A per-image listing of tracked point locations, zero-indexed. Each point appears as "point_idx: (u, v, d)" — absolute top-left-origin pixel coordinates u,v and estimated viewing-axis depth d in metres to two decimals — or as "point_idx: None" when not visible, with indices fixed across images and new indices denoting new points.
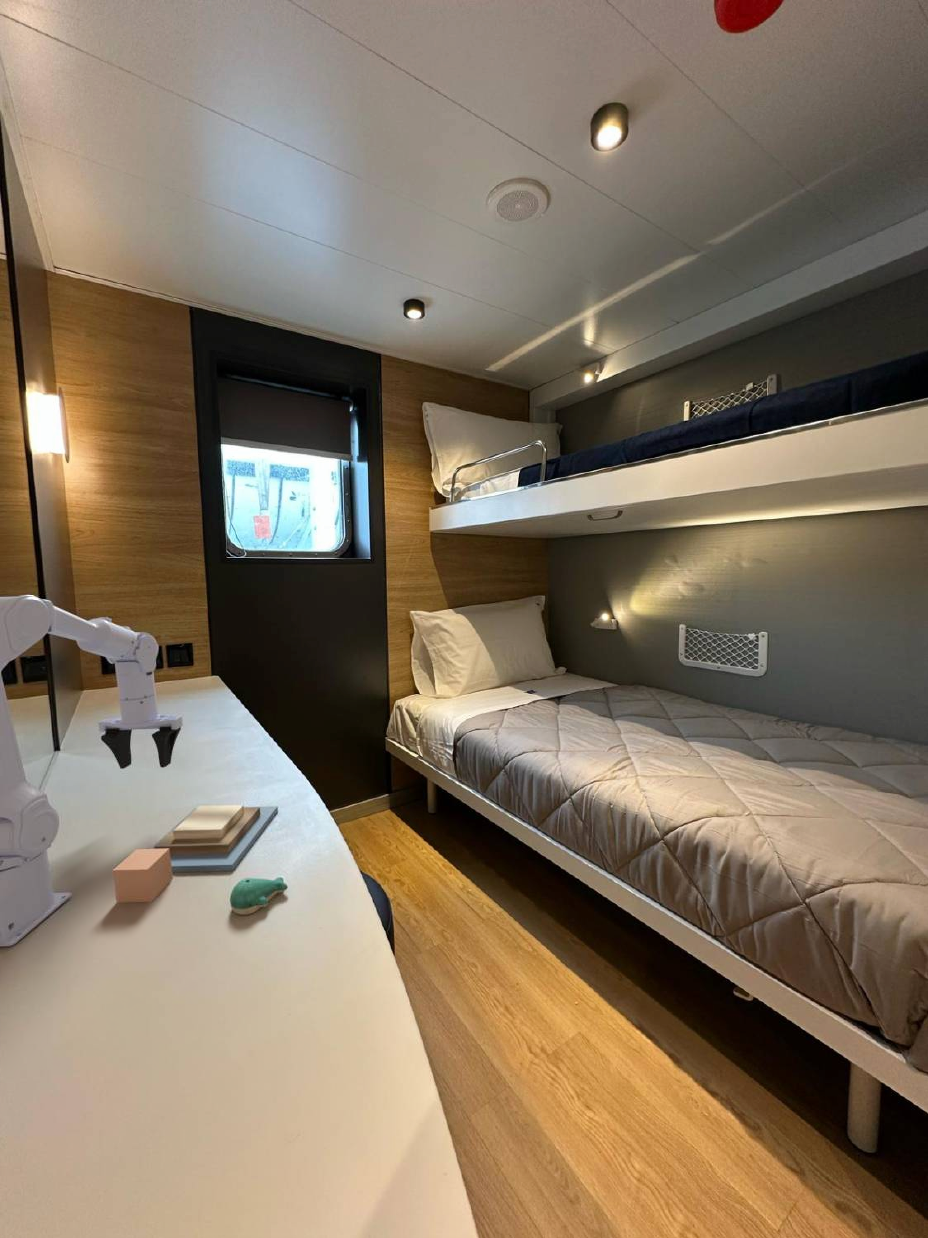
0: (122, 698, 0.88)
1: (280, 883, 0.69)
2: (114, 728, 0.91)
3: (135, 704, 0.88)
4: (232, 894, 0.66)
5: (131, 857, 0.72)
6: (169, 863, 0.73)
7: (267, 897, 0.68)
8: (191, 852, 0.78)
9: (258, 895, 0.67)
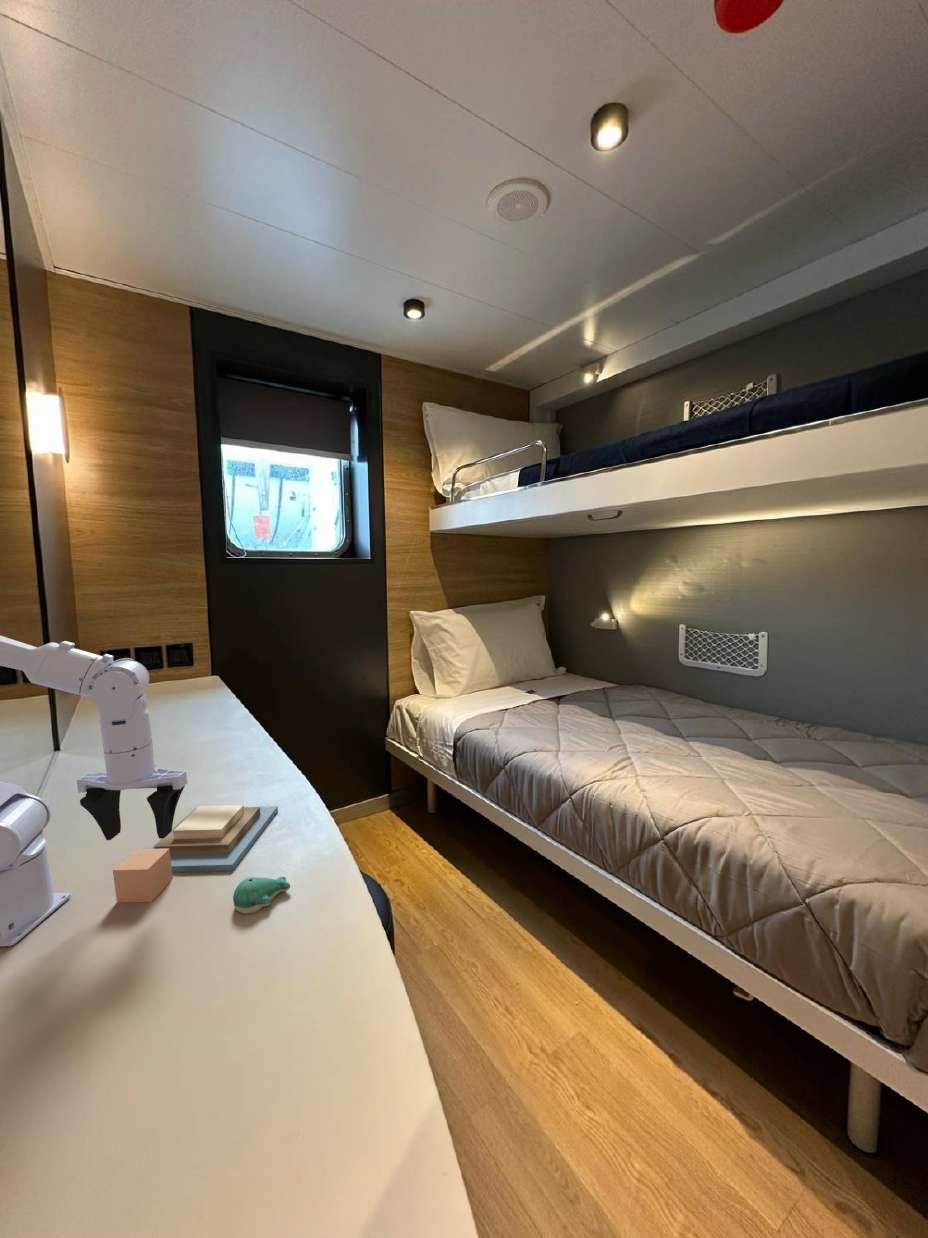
0: None
1: (283, 882, 0.70)
2: (97, 787, 0.70)
3: (125, 758, 0.67)
4: (235, 893, 0.67)
5: (131, 857, 0.72)
6: (169, 863, 0.73)
7: (270, 896, 0.68)
8: (191, 852, 0.78)
9: (261, 894, 0.67)
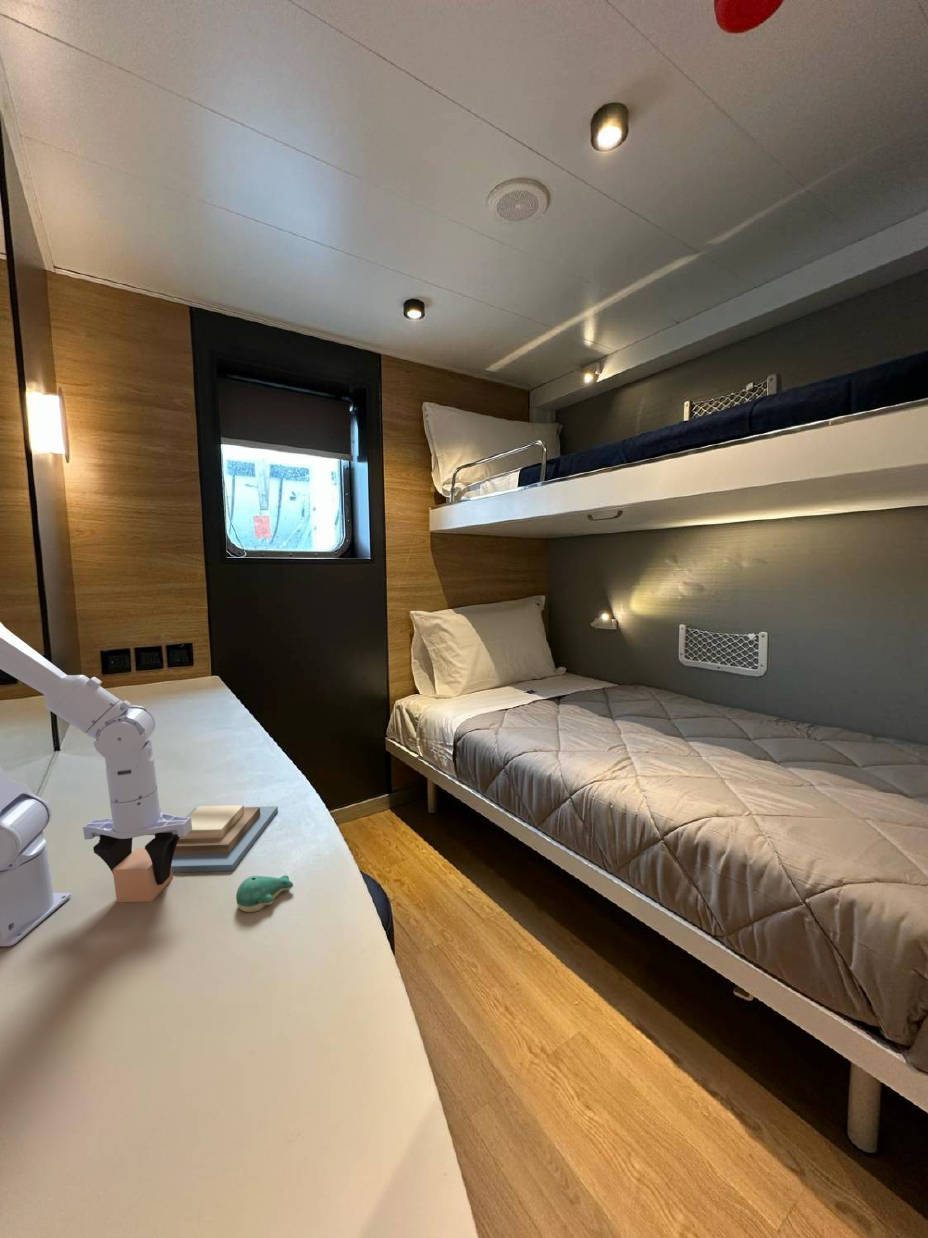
0: None
1: (286, 881, 0.70)
2: None
3: (130, 807, 0.67)
4: (238, 891, 0.67)
5: (131, 856, 0.72)
6: None
7: (273, 895, 0.68)
8: (191, 852, 0.78)
9: (264, 893, 0.67)
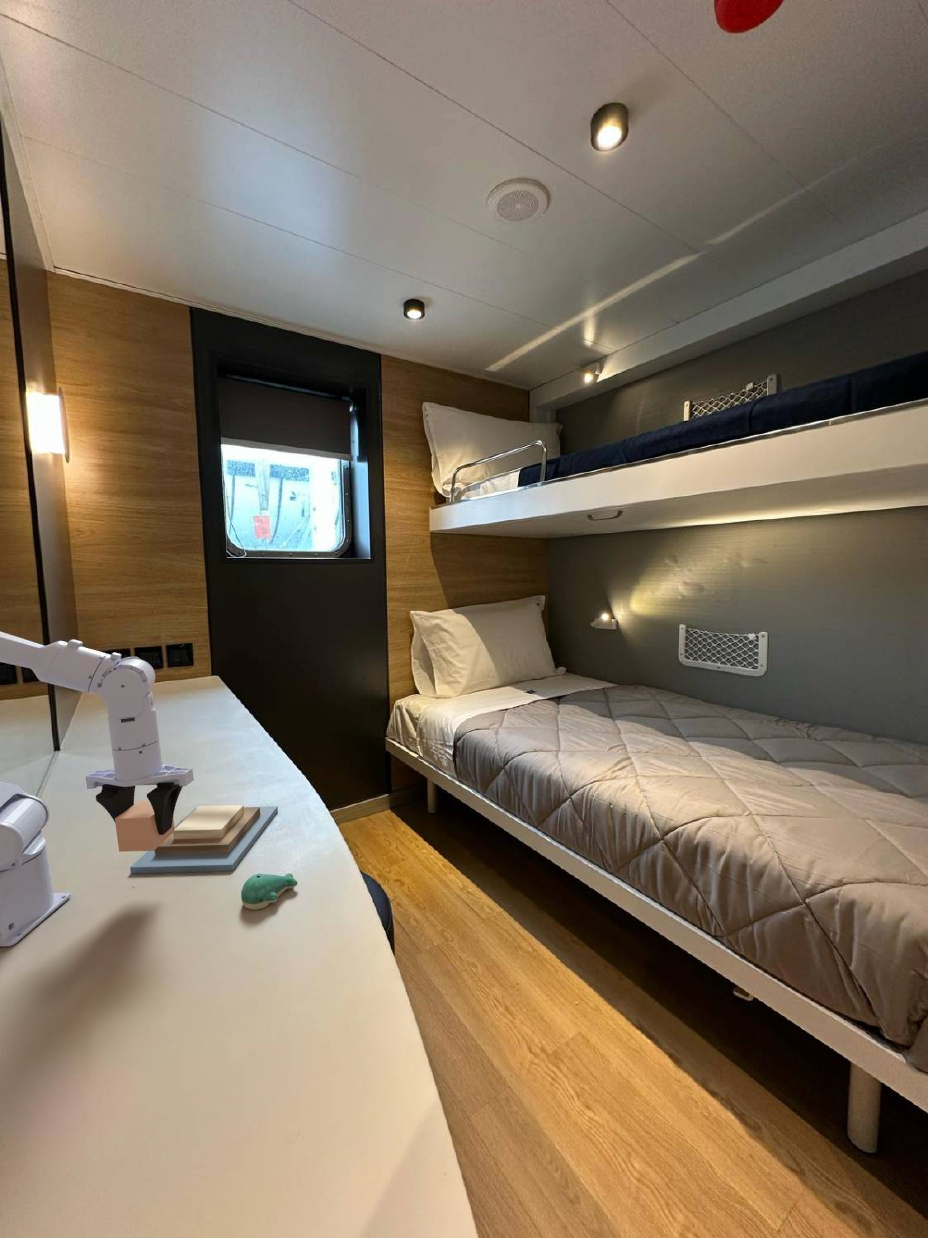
0: None
1: (290, 879, 0.70)
2: (105, 784, 0.71)
3: (132, 755, 0.68)
4: (243, 889, 0.67)
5: (133, 807, 0.72)
6: None
7: (277, 893, 0.69)
8: (191, 852, 0.78)
9: (269, 891, 0.67)
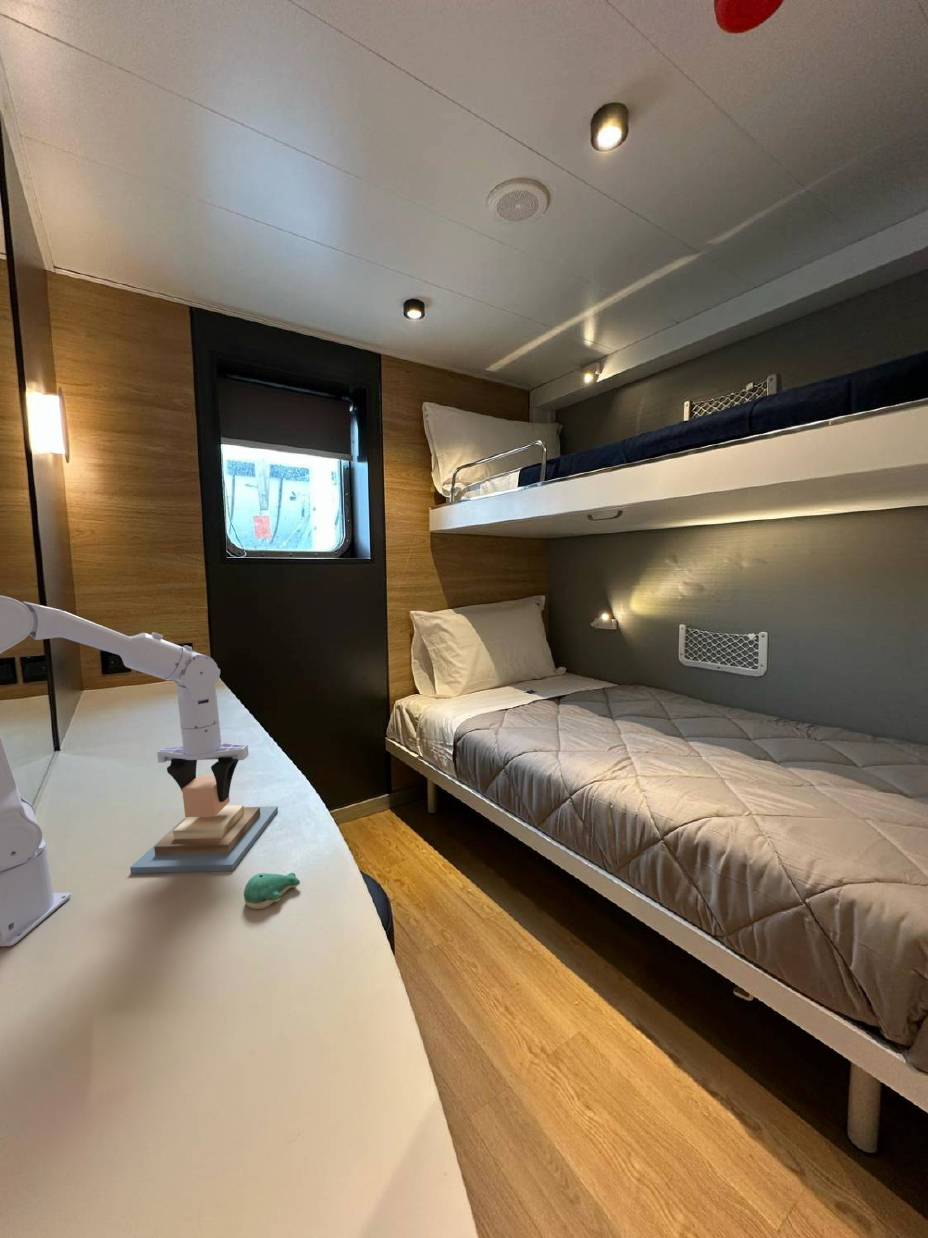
0: None
1: (293, 878, 0.70)
2: (173, 758, 0.82)
3: (199, 733, 0.80)
4: (246, 889, 0.67)
5: (195, 780, 0.83)
6: None
7: (280, 892, 0.69)
8: (191, 852, 0.78)
9: (271, 890, 0.68)
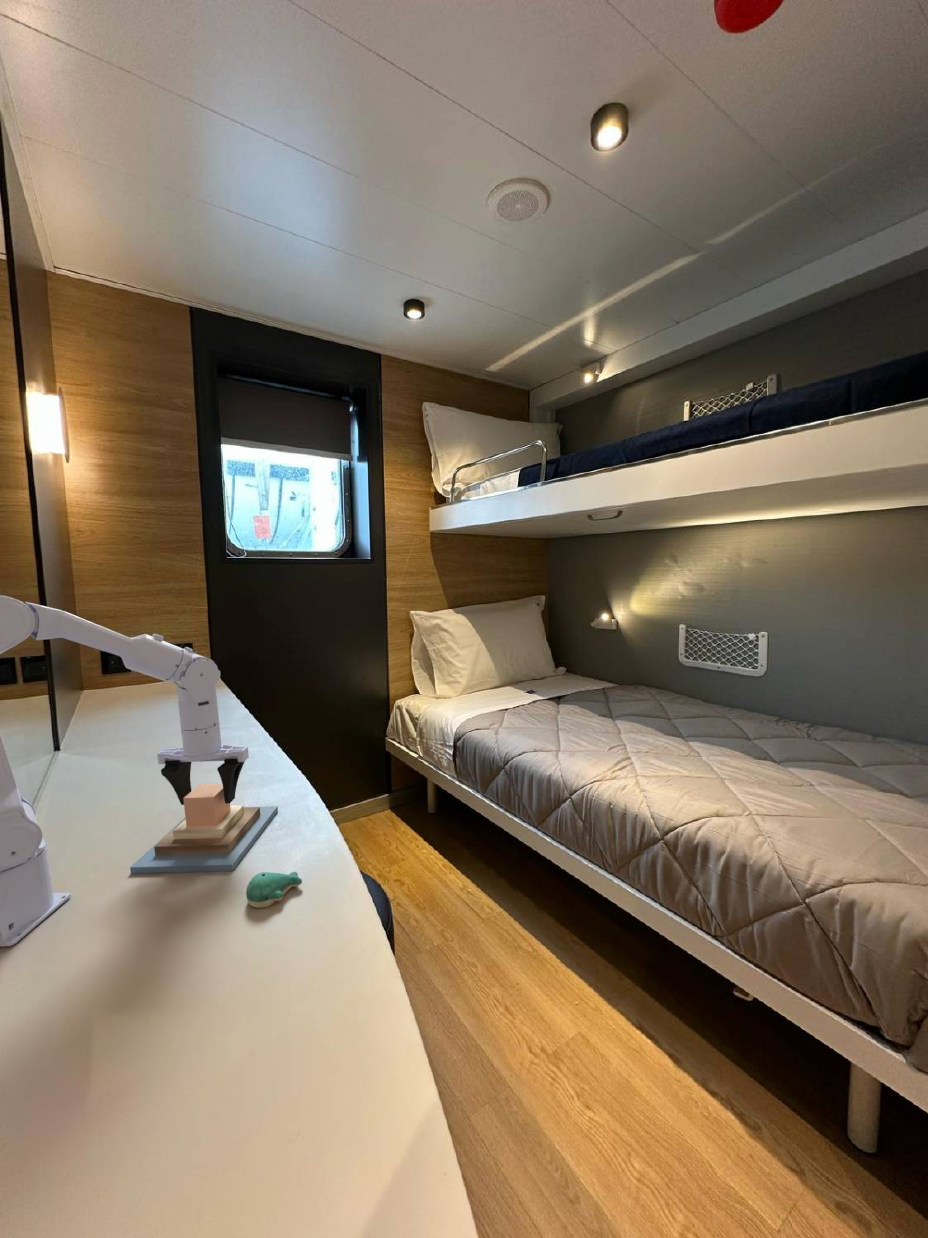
0: None
1: (295, 877, 0.71)
2: (174, 760, 0.83)
3: (199, 735, 0.80)
4: (248, 887, 0.67)
5: (197, 789, 0.84)
6: None
7: (282, 891, 0.69)
8: (191, 852, 0.78)
9: (274, 889, 0.68)
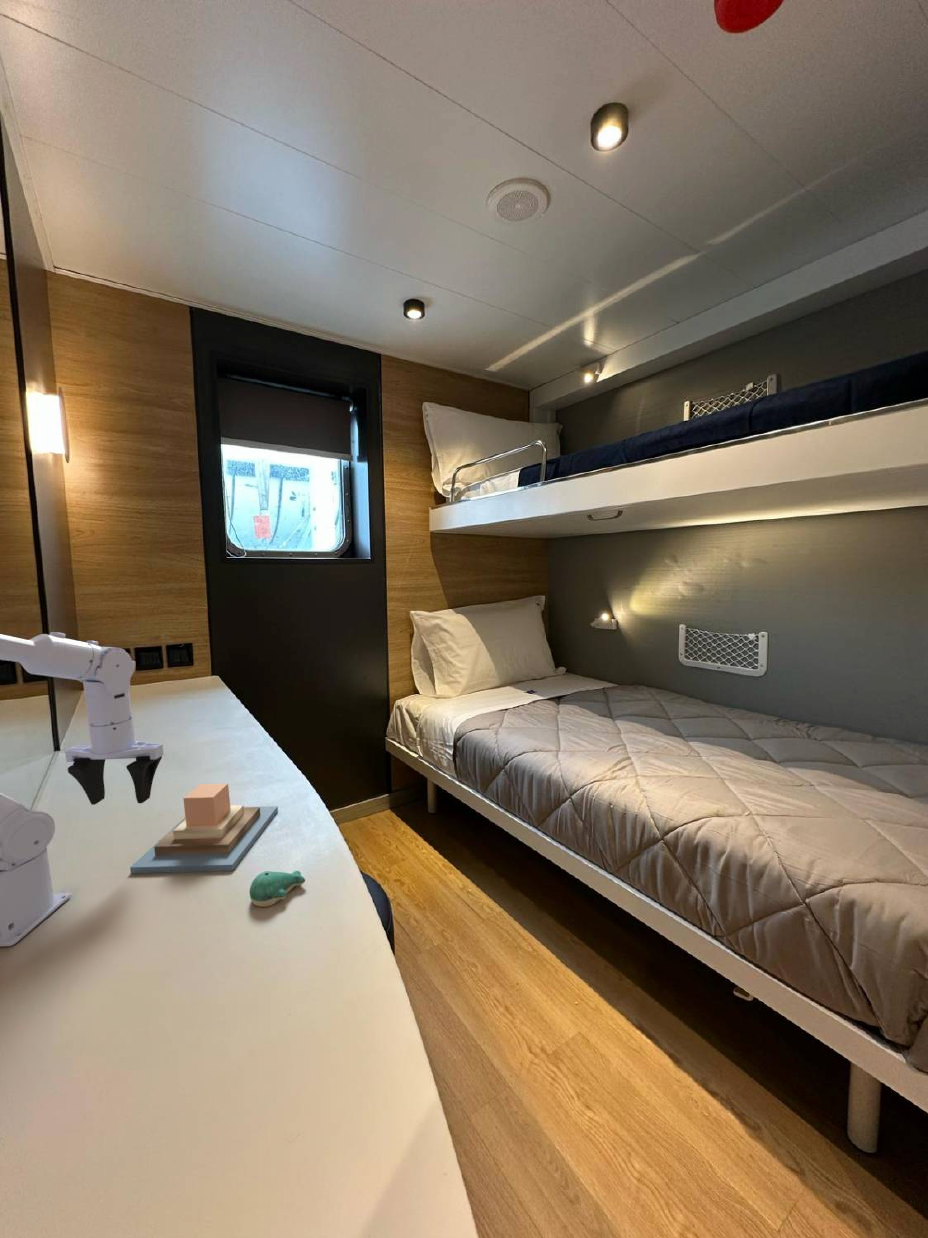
0: (89, 723, 0.76)
1: (298, 876, 0.71)
2: (83, 757, 0.78)
3: (107, 731, 0.76)
4: (252, 887, 0.68)
5: (197, 789, 0.84)
6: (228, 796, 0.86)
7: (285, 890, 0.69)
8: (191, 852, 0.78)
9: (277, 888, 0.68)
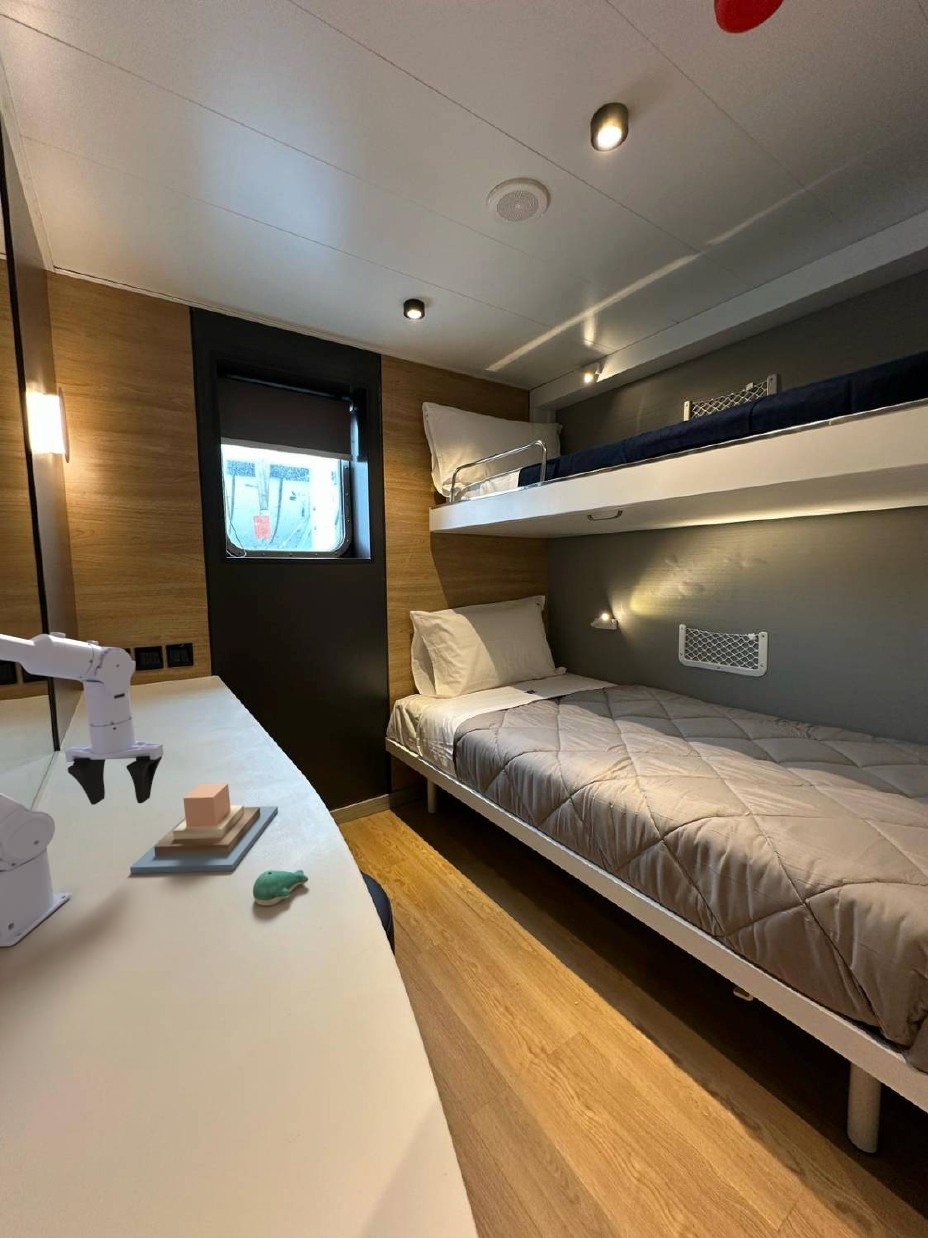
0: (89, 723, 0.76)
1: (301, 875, 0.71)
2: (83, 757, 0.78)
3: (107, 731, 0.76)
4: (255, 886, 0.68)
5: (197, 789, 0.84)
6: (228, 796, 0.86)
7: (289, 889, 0.69)
8: (191, 852, 0.78)
9: (280, 887, 0.68)
